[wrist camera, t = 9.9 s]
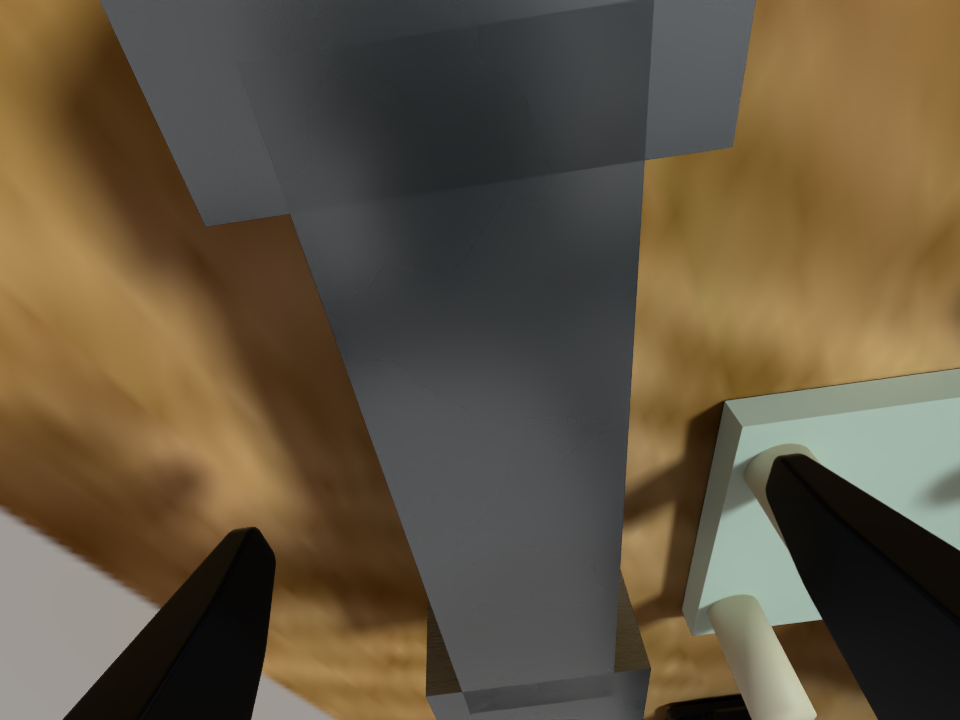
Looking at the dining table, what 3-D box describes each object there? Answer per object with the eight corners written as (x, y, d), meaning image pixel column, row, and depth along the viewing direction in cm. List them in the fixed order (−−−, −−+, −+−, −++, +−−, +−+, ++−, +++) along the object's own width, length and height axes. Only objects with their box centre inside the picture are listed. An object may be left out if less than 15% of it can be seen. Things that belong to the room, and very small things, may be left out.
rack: (965, 573, 20) (1081, 704, 16) (681, 610, 20) (734, 746, 17) (1146, 342, 13) (1408, 475, 10) (724, 401, 14) (827, 550, 10)
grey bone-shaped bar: (595, 559, 18) (641, 726, 14) (448, 579, 18) (450, 750, 14) (604, -229, 7) (840, -540, 3) (223, -164, 7) (-72, -368, 3)
